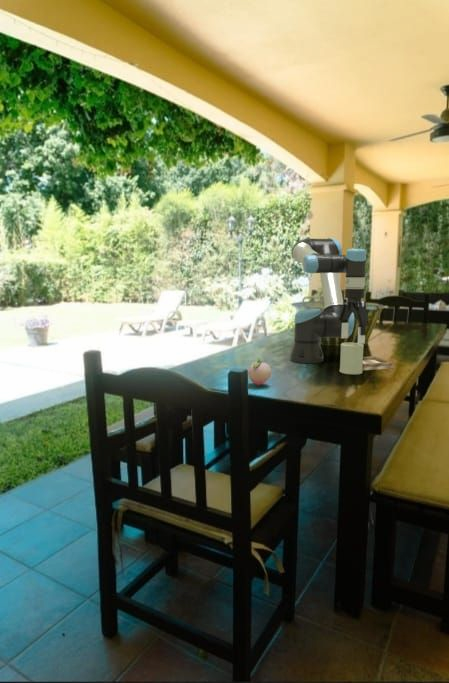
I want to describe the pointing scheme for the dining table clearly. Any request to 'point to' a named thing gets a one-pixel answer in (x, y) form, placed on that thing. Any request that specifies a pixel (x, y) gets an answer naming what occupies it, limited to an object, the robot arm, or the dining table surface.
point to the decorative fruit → (259, 372)
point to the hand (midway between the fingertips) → (352, 340)
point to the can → (351, 358)
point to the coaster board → (375, 363)
